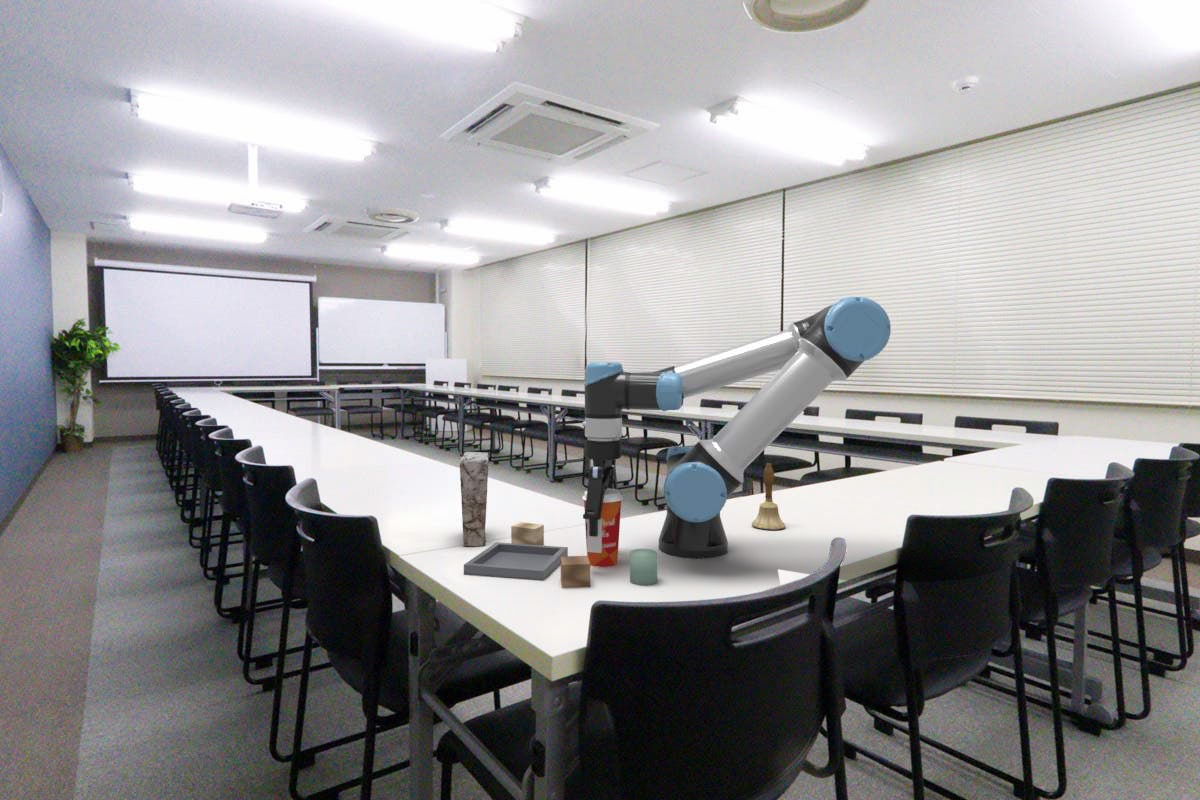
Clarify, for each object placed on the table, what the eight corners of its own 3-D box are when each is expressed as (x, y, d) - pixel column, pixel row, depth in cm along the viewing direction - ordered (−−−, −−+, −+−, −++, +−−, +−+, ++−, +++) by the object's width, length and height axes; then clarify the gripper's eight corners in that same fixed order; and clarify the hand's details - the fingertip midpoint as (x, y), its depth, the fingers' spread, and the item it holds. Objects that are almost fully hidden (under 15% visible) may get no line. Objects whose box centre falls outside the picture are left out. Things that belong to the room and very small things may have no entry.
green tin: (658, 581, 118) (659, 549, 118) (655, 590, 113) (655, 557, 113) (632, 579, 119) (632, 547, 119) (627, 588, 114) (627, 555, 114)
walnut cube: (587, 582, 118) (587, 555, 117) (590, 591, 113) (590, 563, 112) (560, 583, 117) (560, 556, 117) (562, 592, 112) (562, 564, 112)
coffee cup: (575, 567, 126) (575, 493, 125) (591, 556, 133) (591, 486, 133) (614, 572, 123) (615, 496, 122) (628, 560, 130) (629, 489, 130)
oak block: (543, 546, 141) (543, 524, 141) (535, 551, 137) (535, 528, 137) (520, 543, 143) (520, 522, 143) (511, 548, 139) (511, 526, 139)
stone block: (492, 546, 141) (492, 457, 140) (460, 548, 139) (460, 458, 138) (487, 531, 154) (487, 450, 153) (458, 533, 152) (457, 451, 151)
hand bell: (779, 531, 155) (780, 466, 154) (747, 526, 159) (747, 464, 158) (789, 524, 161) (790, 462, 161) (758, 520, 166) (758, 460, 165)
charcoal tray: (567, 558, 132) (567, 547, 132) (543, 583, 116) (543, 571, 116) (496, 553, 135) (496, 542, 135) (463, 577, 120) (463, 564, 120)
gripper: (599, 432, 140) (598, 526, 141) (568, 445, 116) (567, 559, 117) (632, 433, 138) (631, 528, 139) (608, 446, 114) (607, 562, 115)
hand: (602, 542), depth 128 cm, fingers open, 13 cm apart
